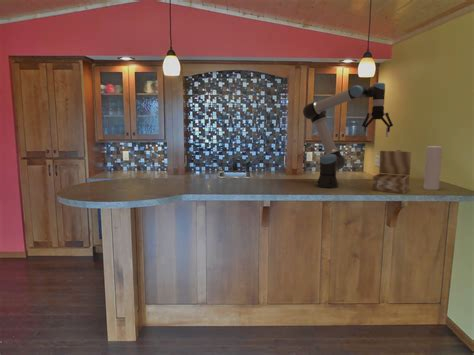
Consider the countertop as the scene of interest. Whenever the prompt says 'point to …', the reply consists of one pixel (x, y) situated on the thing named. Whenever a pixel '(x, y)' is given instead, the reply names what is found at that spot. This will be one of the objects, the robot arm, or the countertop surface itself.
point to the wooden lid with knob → (395, 162)
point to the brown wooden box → (391, 183)
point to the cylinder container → (432, 167)
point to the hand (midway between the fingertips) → (376, 136)
